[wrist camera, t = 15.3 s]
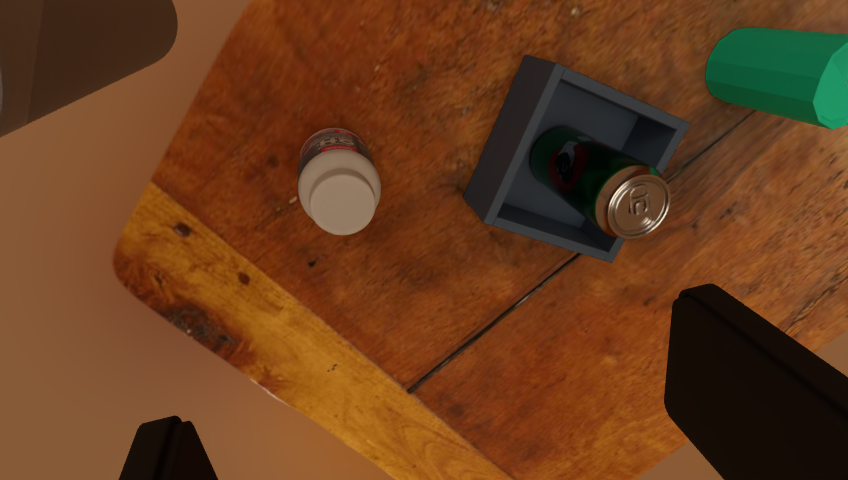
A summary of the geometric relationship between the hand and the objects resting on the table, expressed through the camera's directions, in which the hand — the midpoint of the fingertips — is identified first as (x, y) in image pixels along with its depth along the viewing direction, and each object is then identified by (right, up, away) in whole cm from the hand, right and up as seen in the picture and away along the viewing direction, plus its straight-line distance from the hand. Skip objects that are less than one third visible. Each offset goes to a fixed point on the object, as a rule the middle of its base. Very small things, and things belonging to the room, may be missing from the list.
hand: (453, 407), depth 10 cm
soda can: (+10, +10, +34) cm, 37 cm away
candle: (+26, +18, +34) cm, 46 cm away
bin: (+10, +10, +34) cm, 37 cm away
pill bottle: (-7, +9, +31) cm, 33 cm away
